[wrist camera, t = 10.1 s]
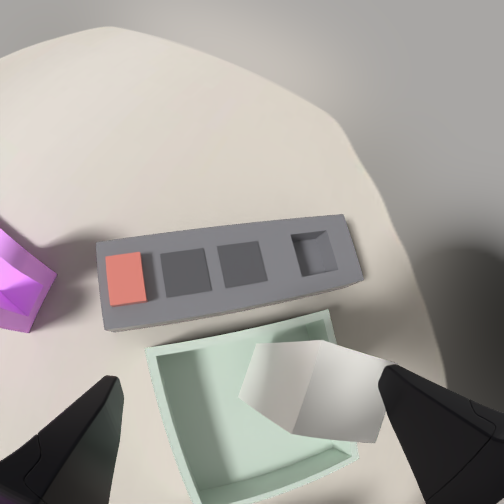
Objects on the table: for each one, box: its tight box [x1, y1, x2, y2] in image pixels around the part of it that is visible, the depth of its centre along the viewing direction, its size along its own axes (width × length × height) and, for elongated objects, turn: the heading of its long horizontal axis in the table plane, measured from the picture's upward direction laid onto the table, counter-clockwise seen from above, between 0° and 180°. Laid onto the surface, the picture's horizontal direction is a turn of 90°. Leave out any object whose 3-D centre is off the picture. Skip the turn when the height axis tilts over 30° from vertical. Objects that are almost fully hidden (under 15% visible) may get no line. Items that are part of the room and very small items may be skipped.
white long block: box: [238, 340, 398, 443], centre depth 15 cm, size 4×4×11 cm
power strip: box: [96, 214, 364, 332], centre depth 21 cm, size 20×6×4 cm, turn 104°
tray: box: [145, 309, 359, 504], centre depth 18 cm, size 13×13×4 cm
